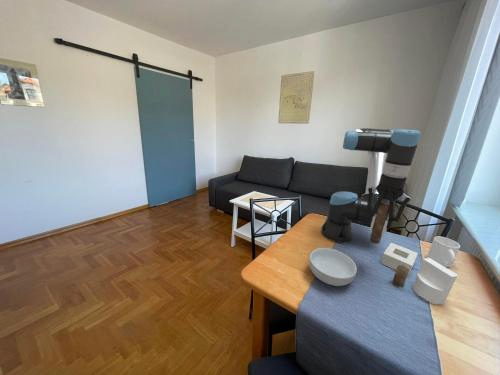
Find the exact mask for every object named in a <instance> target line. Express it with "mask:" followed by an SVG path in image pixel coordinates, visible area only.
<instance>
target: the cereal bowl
mask: <svg viewBox="0 0 500 375" xmlns="http://www.w3.org/2000/svg"><path fill="white" fill-rule="evenodd" d="M308 258H309V259H308V262H309V268H310V270H311V272H312V273H313V275H314V276H315V277H316V278H317V279H318V280H320V281H321V282H323V283H324V284H328V285H331V286H334V287H335V286H336V287H344V286H346V285H349V284H350V283H352V282H353V281H354V279H355V277H356V274H357V272H358V269H357V268H358V267H357V265H356V263H355V262H354V260H353V259H352V258H351V257H350V256H348V255H347V254H346V253H344V252H342V251H341V250H337V249H334V248H330V247H318V248H315V249H313V251H311V253H310V254H309V257H308Z"/></svg>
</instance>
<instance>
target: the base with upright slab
mask: <svg viewBox="0 0 500 375" xmlns="http://www.w3.org/2000/svg"><path fill="white" fill-rule="evenodd" d="M458 275H459V274H457V273H455V272H454V271H452V270H451V269H449V268H448V267H444V266H442V265H441V264H439V263H437V262H436V261H434V260H432V259H431V258H427V257H426V258H423V260H422V263H421V264H420V268H419V270H418V272H417V274H416V277H415V279H414V282H413V285H412V290H413V292H414V291H415V292H416V293H417V294H418V295H419V296H421V297H422V298H424V299H426V300H427V301H426V300H425V301H426V302H428V301H429V302H428V303H430V302H431V303H430V304H433V303H434V304H433V305H437V304H441V305H444V304H445V302H446V301H447V299H448V297H449V295H450V292H451V290H452V288H453V286H454V284H455V282H456V280H457V278H458ZM415 292H414V293H415ZM416 293H415V294H416ZM417 294H416V295H417ZM418 295H417V296H418ZM419 296H418V297H419ZM421 297H420V298H421ZM422 298H421V299H422ZM424 299H423V300H424Z"/></svg>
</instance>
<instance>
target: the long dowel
mask: <svg viewBox="0 0 500 375" xmlns="http://www.w3.org/2000/svg"><path fill="white" fill-rule="evenodd" d="M388 214H389V204H387V203H380V205H379V209H378V212H377V216H376V219H375V223H374V226H373V230H372V231H371V234H370V237H369V241H370V242H371V243H373V244H380V243H381V239H382V237H383V236H382V235H381V234H382V231H383V227H384V224H385V221H386V220H387V217H388Z"/></svg>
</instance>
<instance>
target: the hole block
mask: <svg viewBox="0 0 500 375" xmlns="http://www.w3.org/2000/svg"><path fill="white" fill-rule="evenodd" d="M418 254H419V253H418V252H417V251H415V250H412V249H408V248H406V247H404V246H401V245H398V244H395V243H394V242H390V243H389V244H388V246H387V248H386V249H385V251H384V252H383V254H382V256H381V260H380V264H381V265H384V266H387V267H389V268H390V269H392V270H395V271H396V269H397V266H398V265H401V266H404V267H406V268H408V269H409V273H408V275H407V277H408V276H410V274H411V272H412V269H413V267H414V264H415V263H416V262H415V261H416V259H417V257H418Z"/></svg>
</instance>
